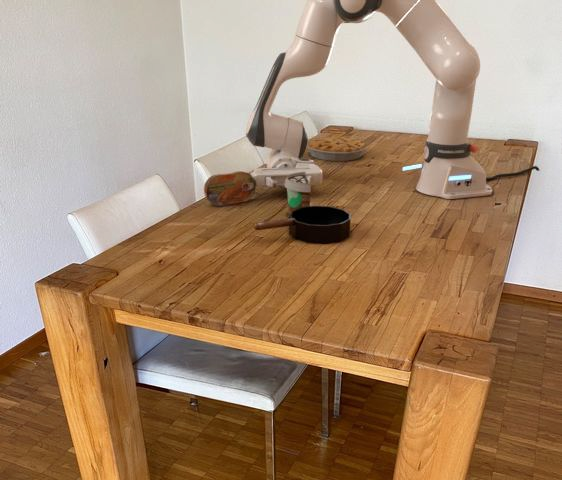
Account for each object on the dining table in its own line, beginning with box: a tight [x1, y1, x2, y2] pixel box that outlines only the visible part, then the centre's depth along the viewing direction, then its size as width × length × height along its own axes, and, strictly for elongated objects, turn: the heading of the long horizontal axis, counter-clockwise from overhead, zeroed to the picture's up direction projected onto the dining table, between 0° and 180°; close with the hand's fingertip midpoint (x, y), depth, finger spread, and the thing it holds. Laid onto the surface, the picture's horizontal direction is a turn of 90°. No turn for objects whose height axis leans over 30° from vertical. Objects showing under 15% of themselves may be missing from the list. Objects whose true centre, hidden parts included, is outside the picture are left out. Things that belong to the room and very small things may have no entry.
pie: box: [306, 136, 368, 162], centre depth 213 cm, size 22×22×5 cm
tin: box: [203, 170, 257, 207], centre depth 164 cm, size 15×3×8 cm, turn 117°
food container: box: [285, 172, 312, 217], centre depth 155 cm, size 12×6×10 cm, turn 5°
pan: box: [253, 205, 352, 245], centre depth 144 cm, size 25×15×5 cm, turn 112°
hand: (290, 184), depth 163 cm, fingers open, 8 cm apart
